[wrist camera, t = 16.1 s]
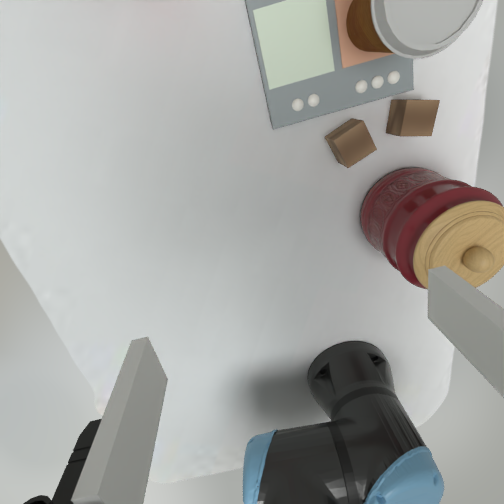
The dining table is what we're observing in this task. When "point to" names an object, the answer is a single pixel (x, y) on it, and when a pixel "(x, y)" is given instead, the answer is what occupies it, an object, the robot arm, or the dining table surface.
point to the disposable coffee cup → (408, 25)
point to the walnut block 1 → (351, 142)
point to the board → (318, 60)
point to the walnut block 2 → (412, 117)
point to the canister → (434, 226)
